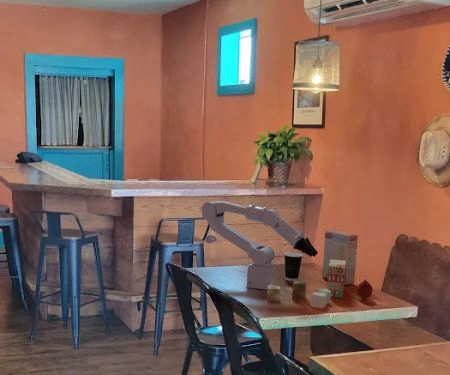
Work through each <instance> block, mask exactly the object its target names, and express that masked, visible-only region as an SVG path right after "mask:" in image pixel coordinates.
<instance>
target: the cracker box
mask: <svg viewBox="0 0 450 375" xmlns="http://www.w3.org/2000/svg"><path fill="white" fill-rule="evenodd" d="M358 240H359V236H358V234H354V233H349V232H345V231H341V230H336V229H327V230H325V232H324V246H323V260H322V275H321V277H322V278H323V279H326V280H328V269H329V263H330V259H333V260H345V261H346V268H345V283H344V286H346V285H354V284H355V278H356V264H357V251H358V250H357V249H358Z"/></svg>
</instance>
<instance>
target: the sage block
mask: <svg viewBox="0 0 450 375" xmlns="http://www.w3.org/2000/svg"><path fill="white" fill-rule="evenodd" d="M314 292H320V293H326V294H327V300H326V305H331V303H332V302H331V299H332V297H331V292H330V291H329V290H328V289H327V288H315V291H314Z"/></svg>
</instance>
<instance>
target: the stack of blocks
mask: <svg viewBox="0 0 450 375" xmlns="http://www.w3.org/2000/svg"><path fill="white" fill-rule="evenodd" d="M345 268H346V261H345V260H333V259H330V263H329V269H328V279H327V285H326V289H328V290H329V291H330V292H331V298H336V299H343V298H344V291H345V285H344V283H345Z"/></svg>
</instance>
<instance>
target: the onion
mask: <svg viewBox="0 0 450 375" xmlns="http://www.w3.org/2000/svg"><path fill="white" fill-rule="evenodd" d="M356 293H357V294H358V296H359V298H360V299H361V300H363V301H366V300H367V299H369V298H370V297H371V296H372V295H373V286H372V284H371V283H370V282H369V281H367V279H366V278H364V279H363V281H362V282H360V283H359V284H358V285H357V288H356Z"/></svg>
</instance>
